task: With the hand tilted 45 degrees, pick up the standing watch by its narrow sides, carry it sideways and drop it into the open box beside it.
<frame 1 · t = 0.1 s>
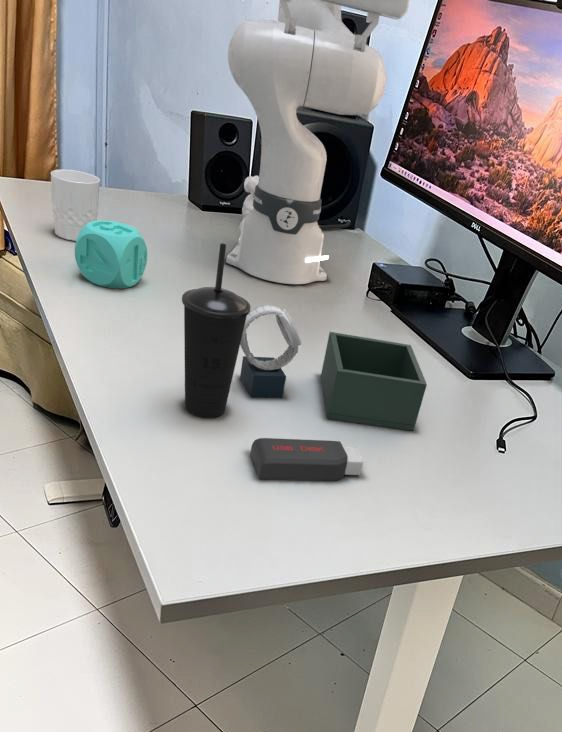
hand: (324, 42, 102), 39 cm above the table, tool pointing down, fingers open, 8 cm apart
open box: (365, 402, 104), on the table
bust: (255, 227, 165), on the table
white cup: (75, 236, 135), on the table
decorative dice: (110, 280, 122), on the table
watch: (261, 388, 101), on the table
usb drive: (305, 469, 87), on the table
drinking cup: (204, 409, 93), on the table
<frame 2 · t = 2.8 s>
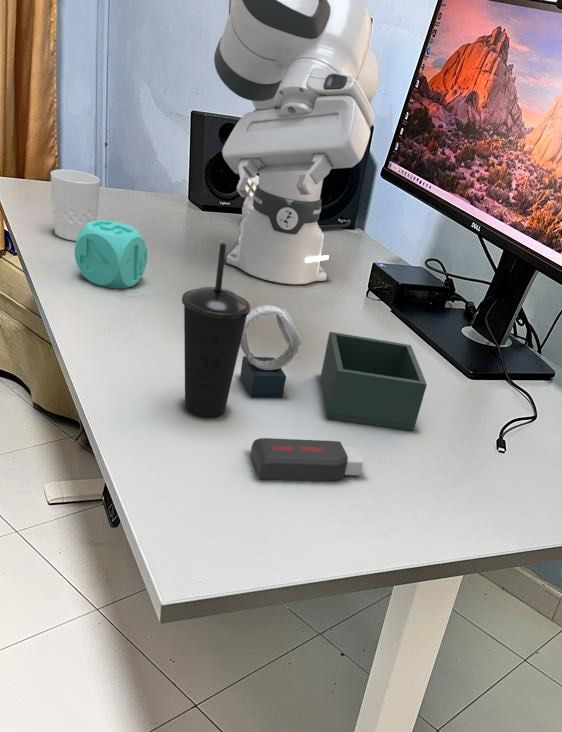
hand: (272, 192, 96), 23 cm above the table, tool tilted 45°, fingers open, 8 cm apart
nothing on the table moved.
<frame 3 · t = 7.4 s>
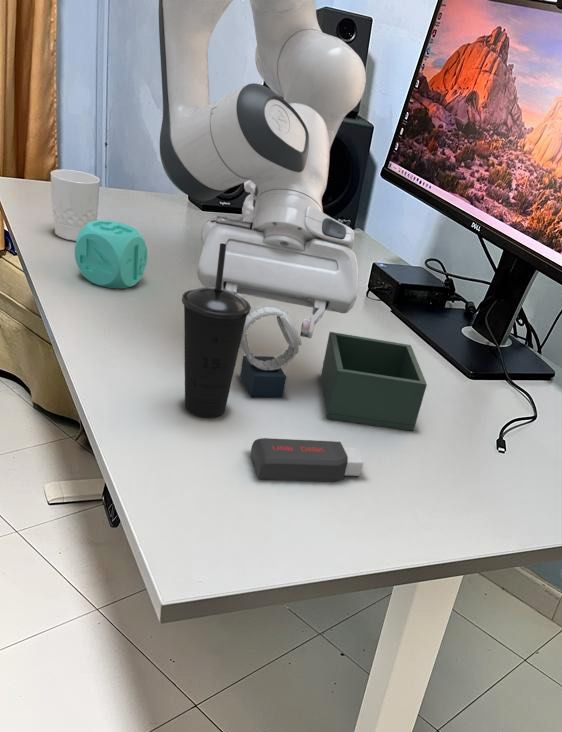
hand: (271, 329, 96), 8 cm above the table, tool tilted 45°, fingers closed on watch, 7 cm apart
watch: (261, 388, 101), on the table, touching gripper
everything else where it was.
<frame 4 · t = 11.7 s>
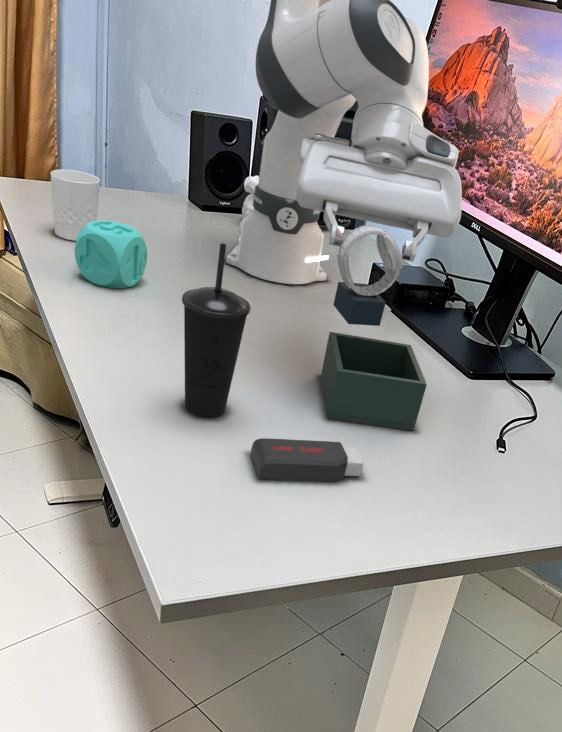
hand: (372, 251, 92), 20 cm above the table, tool tilted 45°, fingers closed on watch, 7 cm apart
watch: (356, 316, 97), point 12 cm above the table, touching gripper
everything else where it was.
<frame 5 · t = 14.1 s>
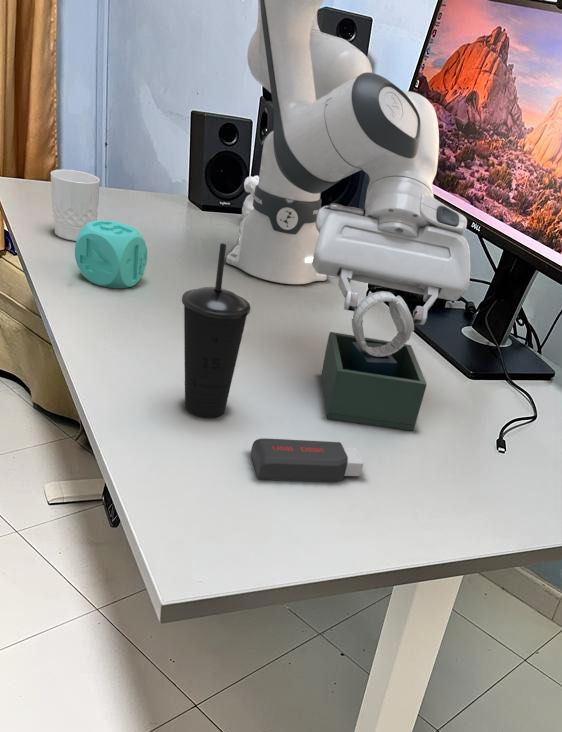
hand: (385, 315, 97), 13 cm above the table, tool tilted 45°, fingers closed on watch, 7 cm apart
watch: (369, 374, 102), point 4 cm above the table, touching gripper
everything else where it was.
when the fingers open (9 cm above the table, at t = 15.9 s): watch stays where it is, resting on open box.
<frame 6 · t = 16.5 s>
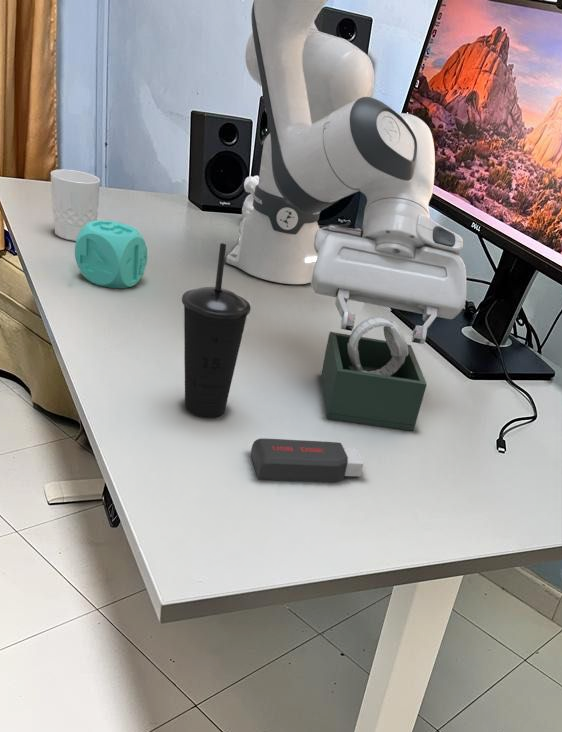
hand: (383, 335, 98), 10 cm above the table, tool tilted 45°, fingers open, 8 cm apart
watch: (364, 398, 104), point 1 cm above the table, touching open box
everything else where it was.
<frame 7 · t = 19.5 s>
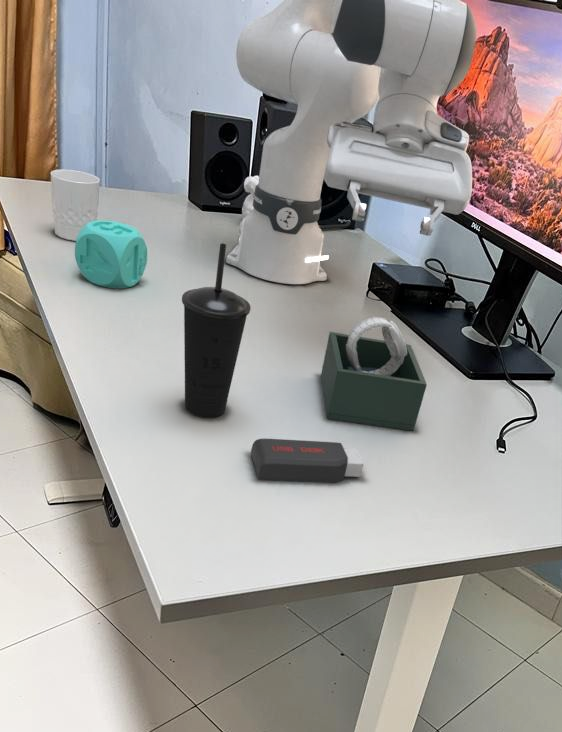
hand: (392, 225, 103), 21 cm above the table, tool tilted 45°, fingers open, 8 cm apart
nothing on the table moved.
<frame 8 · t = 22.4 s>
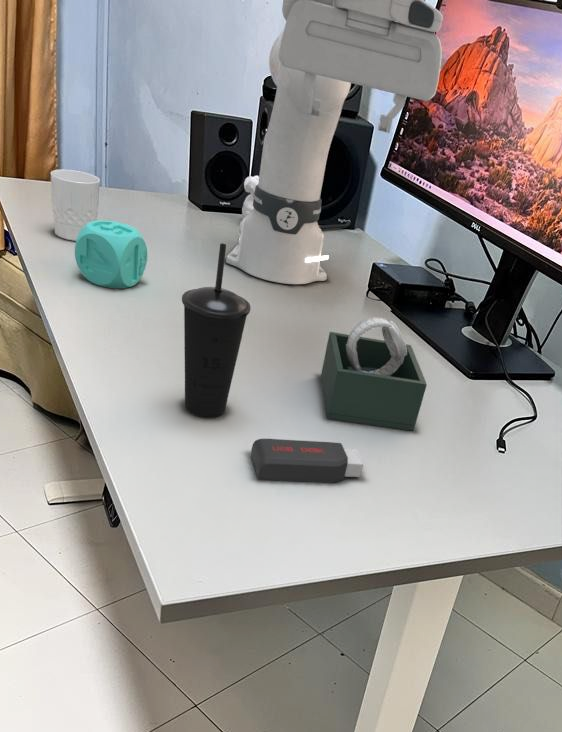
hand: (348, 123, 99), 31 cm above the table, tool pointing down, fingers open, 8 cm apart
nothing on the table moved.
at the end: watch inside the target area in the open box (0.3 cm from its centre), point 0.6 cm above the open box's base; the gripper is holding nothing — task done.
